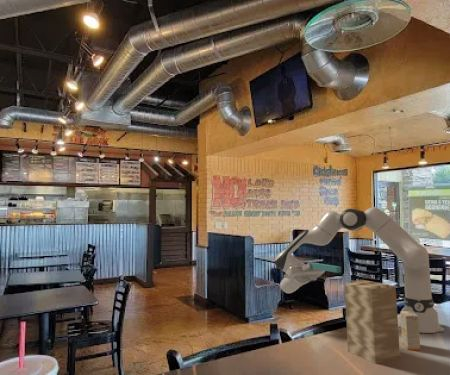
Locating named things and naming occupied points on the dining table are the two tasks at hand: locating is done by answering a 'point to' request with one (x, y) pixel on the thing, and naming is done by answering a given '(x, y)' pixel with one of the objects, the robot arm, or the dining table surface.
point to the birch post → (372, 320)
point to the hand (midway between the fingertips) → (313, 264)
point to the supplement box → (410, 330)
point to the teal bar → (325, 267)
